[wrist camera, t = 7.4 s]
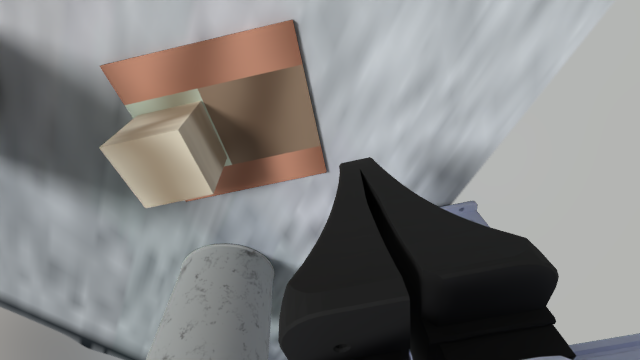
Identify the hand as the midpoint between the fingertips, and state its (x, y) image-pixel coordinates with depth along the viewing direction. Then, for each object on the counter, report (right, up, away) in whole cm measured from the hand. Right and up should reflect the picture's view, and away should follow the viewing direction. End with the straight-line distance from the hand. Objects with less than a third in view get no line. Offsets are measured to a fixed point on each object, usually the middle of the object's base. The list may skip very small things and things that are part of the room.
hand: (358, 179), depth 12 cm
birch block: (-11, +3, +8) cm, 14 cm away
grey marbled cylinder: (-11, -10, +18) cm, 23 cm away
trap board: (-8, +4, +8) cm, 12 cm away
